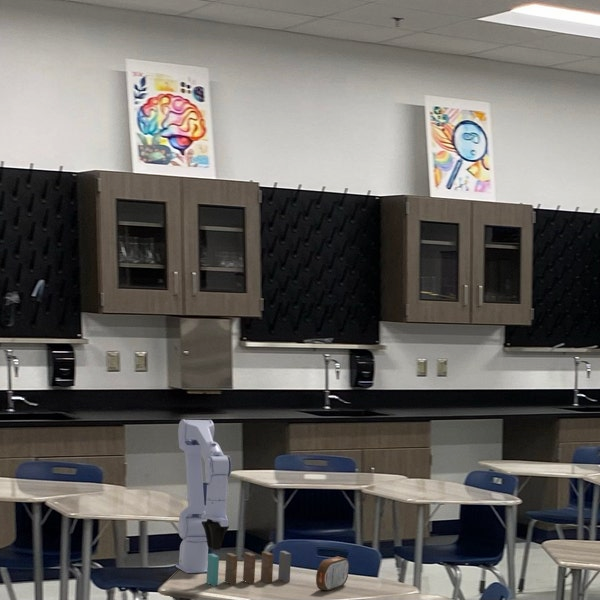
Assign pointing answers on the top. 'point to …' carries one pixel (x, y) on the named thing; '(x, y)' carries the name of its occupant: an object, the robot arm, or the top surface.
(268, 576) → the domino
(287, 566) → the domino
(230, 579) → the domino
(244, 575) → the domino
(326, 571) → the tin
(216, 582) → the teal rectangular block
